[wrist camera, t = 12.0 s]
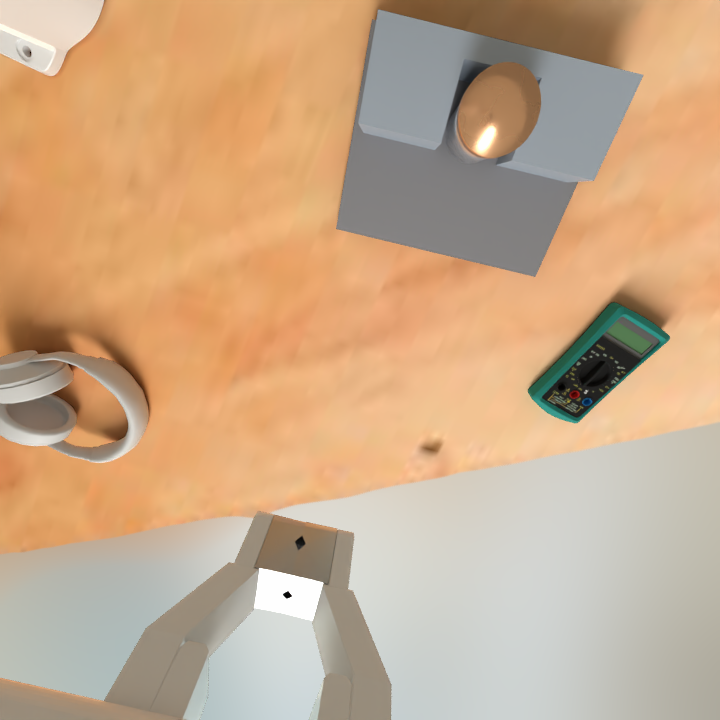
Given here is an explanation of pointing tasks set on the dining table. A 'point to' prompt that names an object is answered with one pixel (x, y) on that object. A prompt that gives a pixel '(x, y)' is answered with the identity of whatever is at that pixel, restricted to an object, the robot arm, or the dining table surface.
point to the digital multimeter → (597, 363)
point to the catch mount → (477, 180)
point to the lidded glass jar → (494, 113)
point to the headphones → (63, 402)
